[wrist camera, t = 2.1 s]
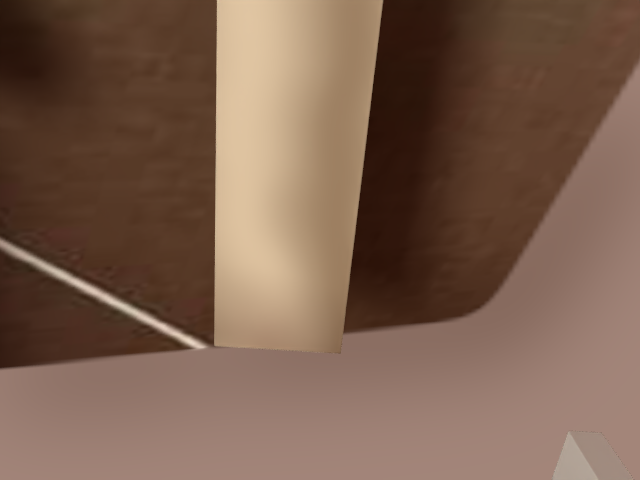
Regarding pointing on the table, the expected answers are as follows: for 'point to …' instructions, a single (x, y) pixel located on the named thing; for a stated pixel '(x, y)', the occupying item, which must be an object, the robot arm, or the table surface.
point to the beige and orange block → (289, 167)
